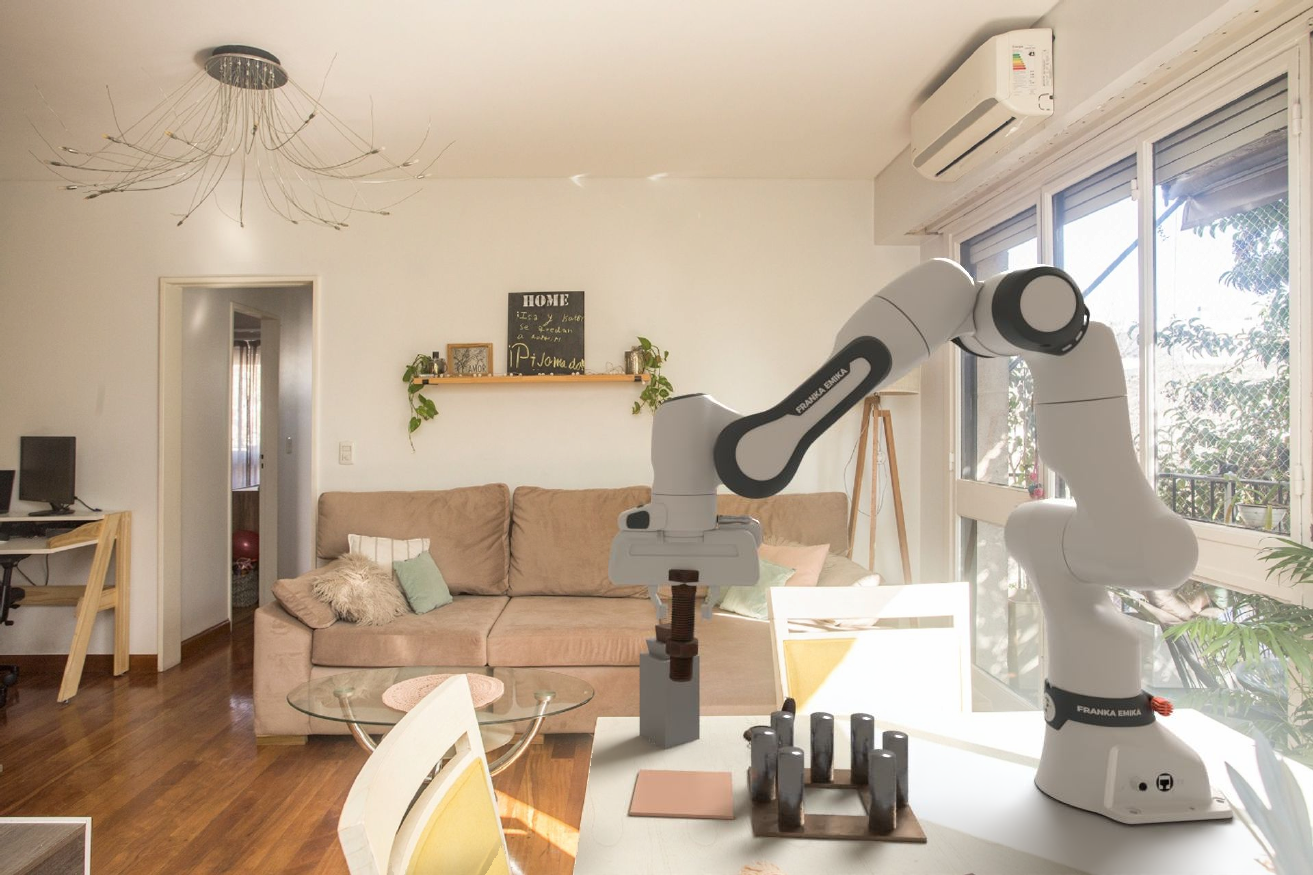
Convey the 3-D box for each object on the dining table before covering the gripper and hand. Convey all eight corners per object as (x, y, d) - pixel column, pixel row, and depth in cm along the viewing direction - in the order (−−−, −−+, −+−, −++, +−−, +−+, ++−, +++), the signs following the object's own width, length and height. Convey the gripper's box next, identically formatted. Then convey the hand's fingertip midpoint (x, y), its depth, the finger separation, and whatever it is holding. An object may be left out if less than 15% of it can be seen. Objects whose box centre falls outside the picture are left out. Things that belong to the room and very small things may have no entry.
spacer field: (891, 774, 111) (891, 710, 112) (927, 841, 93) (927, 765, 93) (747, 769, 113) (747, 706, 113) (754, 835, 94) (754, 759, 94)
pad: (731, 774, 111) (731, 772, 111) (733, 818, 98) (733, 815, 98) (639, 772, 112) (639, 769, 112) (629, 815, 99) (629, 811, 99)
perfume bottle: (639, 738, 125) (639, 624, 125) (673, 729, 129) (673, 619, 129) (665, 751, 120) (665, 632, 120) (699, 741, 124) (699, 626, 124)
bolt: (699, 687, 102) (703, 571, 102) (661, 685, 102) (665, 570, 103) (699, 674, 108) (703, 564, 108) (662, 672, 108) (666, 563, 108)
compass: (750, 730, 129) (750, 685, 129) (798, 738, 125) (798, 692, 125) (733, 747, 122) (733, 699, 122) (782, 756, 118) (782, 707, 118)
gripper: (760, 513, 108) (761, 614, 108) (612, 512, 109) (612, 612, 109) (763, 517, 101) (764, 625, 101) (606, 516, 103) (606, 622, 103)
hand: (684, 618), depth 105 cm, fingers closed on bolt, 5 cm apart
